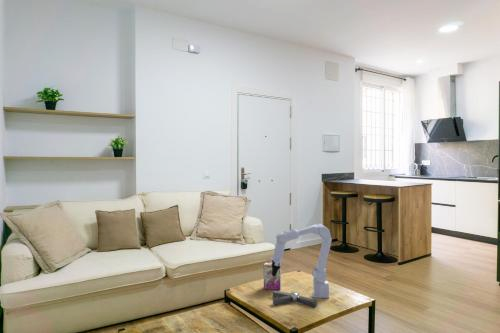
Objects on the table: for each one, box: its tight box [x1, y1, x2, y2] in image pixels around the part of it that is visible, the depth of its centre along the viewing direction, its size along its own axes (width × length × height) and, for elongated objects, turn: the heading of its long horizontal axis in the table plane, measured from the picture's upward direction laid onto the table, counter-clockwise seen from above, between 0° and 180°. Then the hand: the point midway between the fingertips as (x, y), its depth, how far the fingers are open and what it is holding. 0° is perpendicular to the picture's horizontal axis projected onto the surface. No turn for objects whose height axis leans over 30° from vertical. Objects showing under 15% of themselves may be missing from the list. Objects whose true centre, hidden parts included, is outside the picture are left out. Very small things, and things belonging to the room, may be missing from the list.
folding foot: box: [272, 290, 291, 298], centre depth 203 cm, size 11×3×3 cm, turn 61°
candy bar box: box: [263, 262, 282, 291], centre depth 218 cm, size 11×5×16 cm, turn 78°
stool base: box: [272, 291, 318, 309], centre depth 196 cm, size 26×11×4 cm, turn 81°
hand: (273, 273), depth 202 cm, fingers open, 7 cm apart
